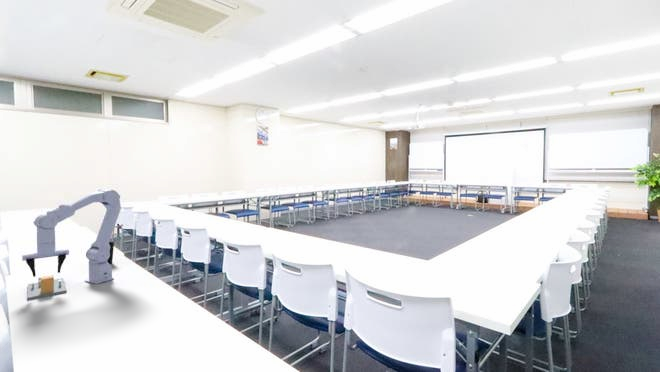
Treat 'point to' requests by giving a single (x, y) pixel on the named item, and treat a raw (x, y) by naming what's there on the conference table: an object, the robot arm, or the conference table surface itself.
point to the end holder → (40, 280)
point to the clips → (33, 284)
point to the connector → (47, 284)
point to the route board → (57, 290)
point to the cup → (111, 252)
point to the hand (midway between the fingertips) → (46, 274)
